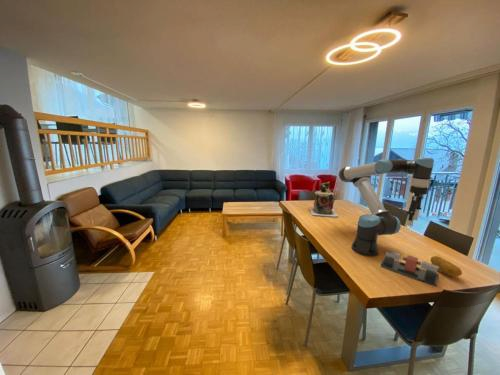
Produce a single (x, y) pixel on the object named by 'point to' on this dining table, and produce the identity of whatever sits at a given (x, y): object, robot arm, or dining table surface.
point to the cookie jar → (323, 202)
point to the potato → (446, 266)
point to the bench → (420, 274)
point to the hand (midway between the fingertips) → (411, 222)
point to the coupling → (411, 263)
